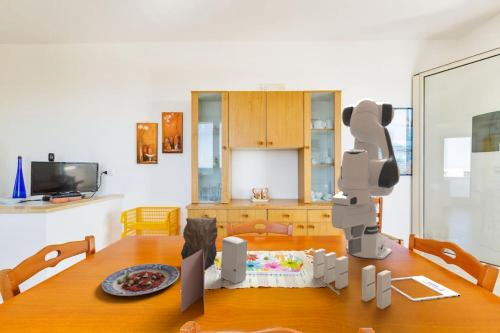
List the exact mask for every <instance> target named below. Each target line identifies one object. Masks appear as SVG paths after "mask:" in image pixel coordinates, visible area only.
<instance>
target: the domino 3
mask: <svg viewBox="0 0 500 333" xmlns="http://www.w3.org/2000/svg"><path fill="white" fill-rule="evenodd" d="M334 283H335V284H334V288H335V289H338V290H341V289H343V288H345V287H347V286H349V257H348V256H345V255H343V256H340V257H336V259H335V281H334Z"/></svg>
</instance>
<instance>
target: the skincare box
mask: <svg viewBox="0 0 500 333" xmlns="http://www.w3.org/2000/svg"><path fill="white" fill-rule="evenodd" d="M221 241H222V242H221V259H220V260H221V263H220V278H222V279H224V280H227V281H229V282H231V283H233V284H238V283H239V282H242V281H245V280H246V279H247V278H246V277H247V261H248V260H247V256H248V240H247V239H246V240H245V239H243V238H240V237H237V236H228V237H223V238H222V240H221Z"/></svg>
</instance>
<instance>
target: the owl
mask: <svg viewBox="0 0 500 333" xmlns="http://www.w3.org/2000/svg"><path fill="white" fill-rule="evenodd" d="M185 219H186V224H185V226H184V228H183V233H182V235H183V236H182V238H183V240H184V241H185V242H184V244H183V246H182V250H181V252H180V255H181V259H182V260H184V259H186V258H188V257H189V256H191V255H193V254H195V253H197V252H199V251H200V250H202V249H203V253H204V261H205V271H207V269H209V268H211V267H212V266H213V265H215V261H216V259H217V254H218V252H217V247H216V241H217V237H218V227H217V217H209V216H201V217H186V218H185Z"/></svg>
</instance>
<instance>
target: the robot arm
mask: <svg viewBox="0 0 500 333" xmlns="http://www.w3.org/2000/svg"><path fill="white" fill-rule="evenodd" d="M394 116H395V110H394V107H393V104H392V103H391V102H386V101H384V102H376V101H375V100H373V99H370V98H364V99H360V100H358V101H357V102H356V104H348V105H346V106H345V107H344V108H343V110H342V112H341V122H342V124H343V125H344V126H345V127H347V128H349V131H350V134H351V135H352V136H353V138H354V141H353V149H346V150H345V151H343V155H342V161H341V166H340V175H339V177H338V178H337V182H336V183H337V188H338V190H339V192H337V193H336V194H335V195H333V196H332V197H331V204H333V205H332V206H331V218H330V220H331V225H332V227H333V228H336V229H339V230H343V233H344V235H345V237H344V238H345V240H346V241H348V240H352V239H353V235H352V234H351V232H350V230H351V227H354V226H358V225H362V230H361V252H358V253H355V254H351V255H352V256H355V257H359V258H364V259H377V260H382V259H383V260H384V259H385V258H386V257H388V255H390V254H391V253H392V252H393V250H392V249H391V248H389V247H387V240H386V238H384V237H383V235H382V234H380V232H379V230H382V229H381V228H382V225H381V224H377V209H376V206H375V202H374V199H373V198H372V197H387V196H390V195H391V194H392V192H394V188H395V185H397V184H398V183H399V182H400V177H401V171H400V168H399V165H398V163H397V160H396V156H395V151H394V146H393V143H392V139H391V135H390V132H389V129H388V128H387V127H388V126H389V125H390V124H392V122H393V119H394ZM379 150H380V153H381V158H380V156H379V155H380V154H379ZM345 249H346V250H347V251H348V245H347V246H345Z"/></svg>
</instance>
